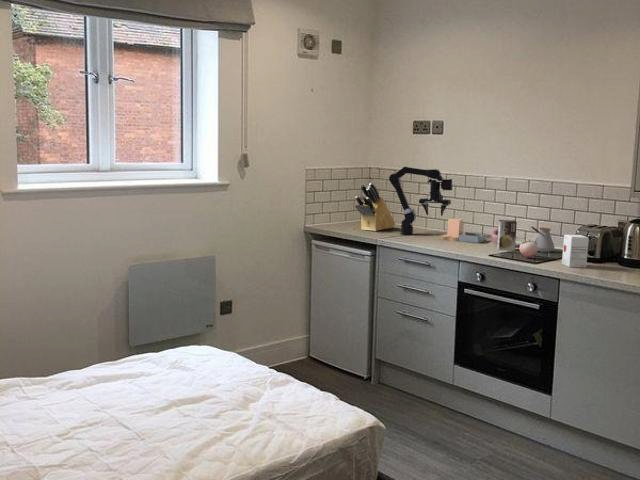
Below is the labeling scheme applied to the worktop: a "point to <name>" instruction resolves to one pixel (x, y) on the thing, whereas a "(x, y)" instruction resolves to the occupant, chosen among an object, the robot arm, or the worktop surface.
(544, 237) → the coffee pot
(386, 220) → the knife block
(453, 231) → the terracotta block
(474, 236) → the slate tray
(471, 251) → the worktop surface
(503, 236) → the coffee box
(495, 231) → the mortar and pestle
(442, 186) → the robot arm
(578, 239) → the supplement box
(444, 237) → the tan wooden slab
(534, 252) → the decorative fruit
